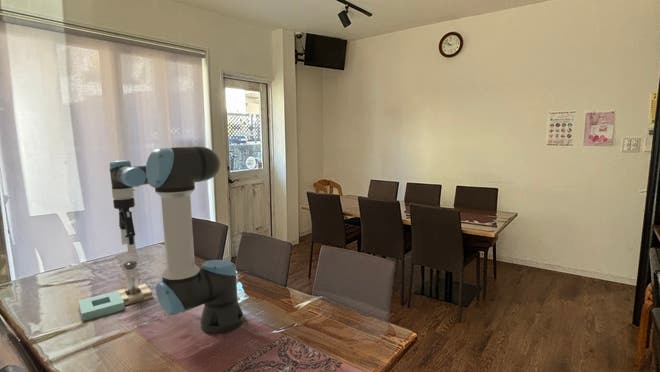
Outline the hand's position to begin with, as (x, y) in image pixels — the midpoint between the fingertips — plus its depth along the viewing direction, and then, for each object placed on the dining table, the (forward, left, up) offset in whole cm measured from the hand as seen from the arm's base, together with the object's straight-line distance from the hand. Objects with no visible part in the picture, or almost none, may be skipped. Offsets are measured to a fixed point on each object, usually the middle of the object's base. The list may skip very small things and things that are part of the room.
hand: (128, 247), depth 151 cm
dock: (-3, +12, -22) cm, 25 cm away
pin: (0, 0, -22) cm, 22 cm away
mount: (0, 0, -22) cm, 22 cm away
